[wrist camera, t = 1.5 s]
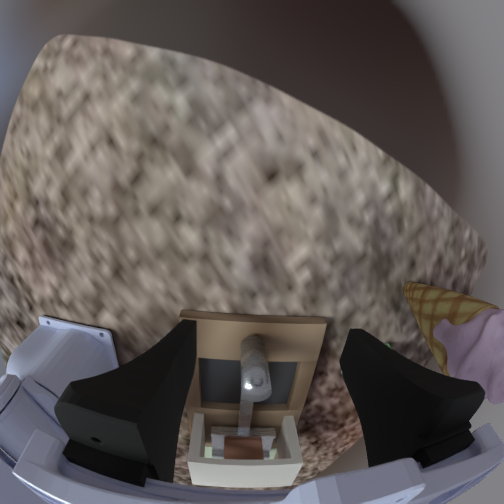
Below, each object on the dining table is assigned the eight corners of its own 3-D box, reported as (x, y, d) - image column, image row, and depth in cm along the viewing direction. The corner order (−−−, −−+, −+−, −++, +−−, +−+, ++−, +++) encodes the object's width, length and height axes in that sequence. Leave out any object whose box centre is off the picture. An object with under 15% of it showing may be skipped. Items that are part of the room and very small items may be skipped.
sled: (212, 450, 26) (210, 485, 21) (210, 332, 21) (203, 378, 15) (268, 451, 26) (272, 486, 21) (295, 336, 21) (310, 381, 16)
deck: (196, 463, 29) (195, 470, 28) (181, 309, 22) (178, 317, 20) (278, 465, 30) (279, 472, 29) (323, 316, 22) (327, 324, 21)
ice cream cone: (370, 319, 23) (458, 439, 9) (382, 255, 21) (513, 354, 7) (423, 312, 23) (514, 403, 9) (437, 255, 21) (554, 327, 7)
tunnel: (197, 441, 26) (192, 484, 20) (194, 412, 24) (187, 461, 18) (284, 443, 26) (290, 485, 20) (293, 415, 25) (303, 463, 19)
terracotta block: (223, 451, 25) (223, 478, 21) (224, 434, 24) (223, 463, 20) (257, 452, 25) (259, 478, 22) (261, 435, 24) (264, 464, 20)
